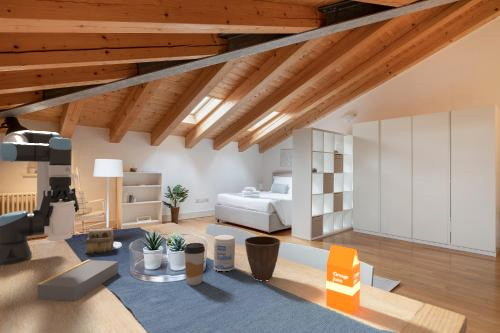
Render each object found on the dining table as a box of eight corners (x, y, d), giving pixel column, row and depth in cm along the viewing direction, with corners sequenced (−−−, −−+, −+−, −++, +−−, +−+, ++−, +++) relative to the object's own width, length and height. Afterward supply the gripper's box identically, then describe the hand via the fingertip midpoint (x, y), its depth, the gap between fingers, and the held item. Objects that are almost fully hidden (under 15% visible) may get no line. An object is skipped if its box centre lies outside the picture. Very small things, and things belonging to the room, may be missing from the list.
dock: (88, 271, 124) (88, 259, 124) (118, 272, 123) (118, 260, 123) (37, 298, 98) (37, 283, 98) (74, 301, 97) (74, 285, 97)
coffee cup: (208, 280, 116) (209, 244, 116) (196, 288, 108) (197, 249, 108) (192, 276, 119) (192, 241, 119) (179, 284, 112) (179, 246, 112)
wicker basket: (87, 247, 160) (87, 227, 160) (114, 245, 164) (114, 226, 164) (80, 256, 146) (80, 234, 146) (110, 253, 150) (110, 232, 150)
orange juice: (335, 297, 101) (335, 242, 101) (360, 305, 96) (360, 247, 96) (325, 305, 95) (326, 247, 95) (351, 314, 90) (352, 252, 90)
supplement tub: (216, 274, 122) (217, 240, 122) (211, 267, 131) (211, 235, 131) (237, 271, 126) (237, 238, 126) (230, 264, 135) (231, 233, 135)
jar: (59, 242, 107) (59, 203, 107) (36, 241, 109) (37, 202, 109) (81, 236, 117) (81, 200, 117) (60, 234, 119) (60, 199, 119)
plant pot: (238, 280, 115) (238, 242, 115) (254, 269, 129) (254, 234, 129) (271, 288, 108) (271, 247, 108) (284, 275, 122) (285, 238, 122)
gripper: (44, 177, 101) (44, 238, 101) (88, 175, 124) (88, 225, 124) (26, 177, 102) (25, 237, 102) (73, 175, 125) (72, 225, 125)
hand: (60, 231), depth 113 cm, fingers closed on jar, 10 cm apart
